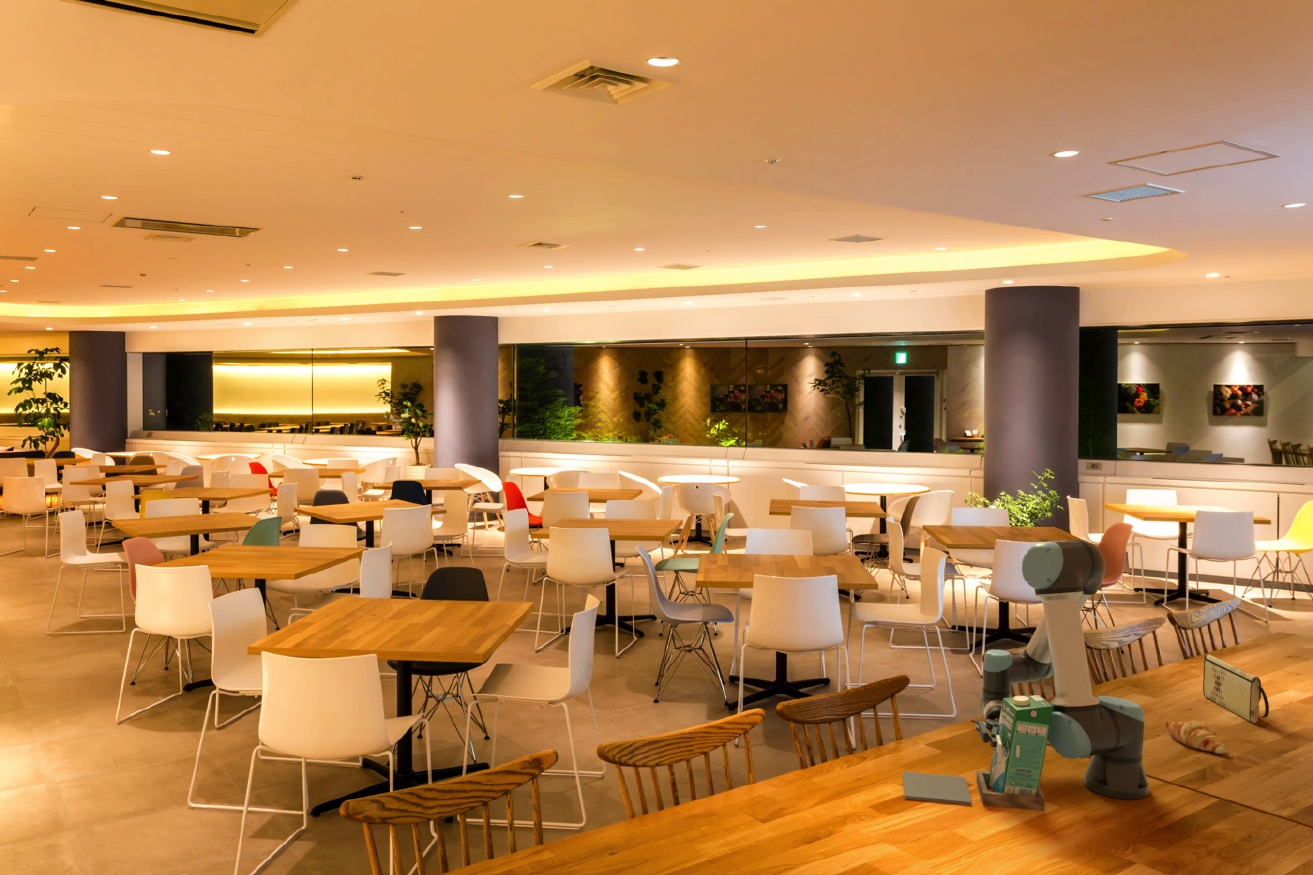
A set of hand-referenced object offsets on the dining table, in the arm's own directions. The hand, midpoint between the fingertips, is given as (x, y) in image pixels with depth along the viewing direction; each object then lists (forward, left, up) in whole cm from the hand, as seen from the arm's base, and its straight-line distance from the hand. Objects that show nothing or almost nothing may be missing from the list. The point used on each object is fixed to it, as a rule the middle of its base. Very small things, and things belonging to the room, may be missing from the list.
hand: (1008, 750), depth 245 cm
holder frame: (-1, -5, -14) cm, 15 cm away
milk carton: (-2, -5, -13) cm, 14 cm away
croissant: (-60, -57, -14) cm, 84 cm away
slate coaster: (+17, -5, -14) cm, 22 cm away
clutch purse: (-83, -94, -14) cm, 126 cm away
